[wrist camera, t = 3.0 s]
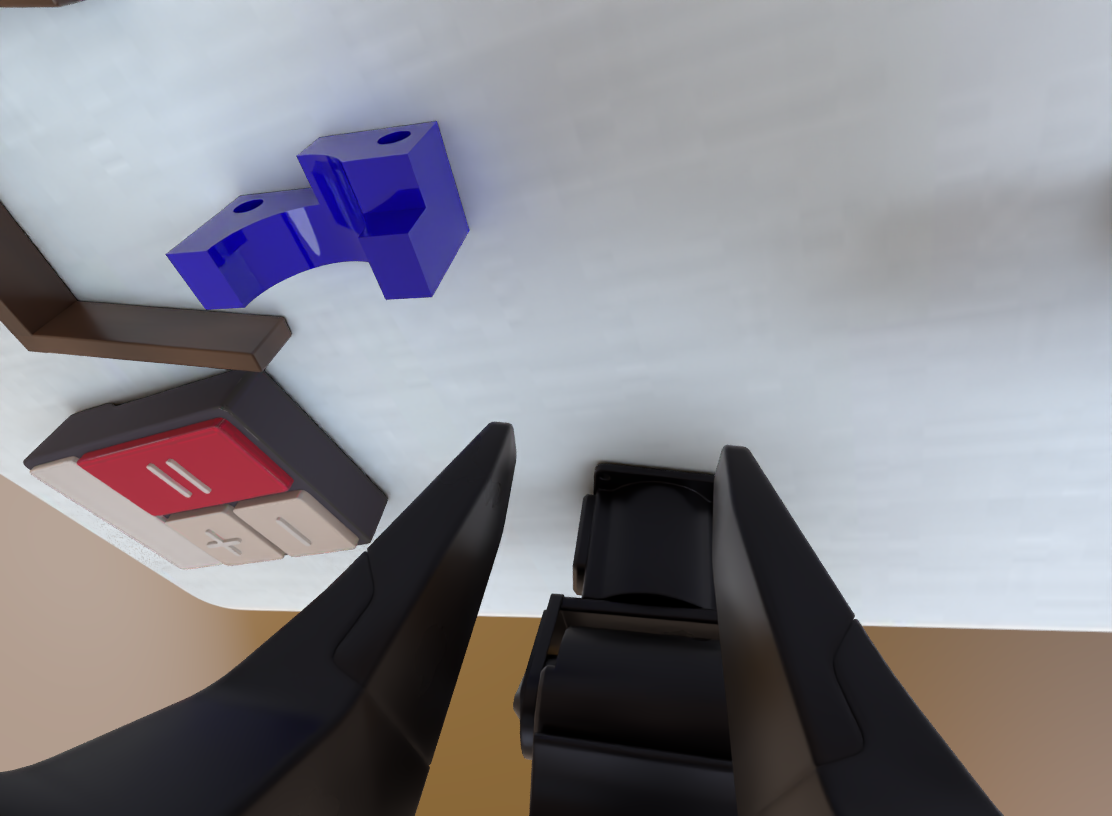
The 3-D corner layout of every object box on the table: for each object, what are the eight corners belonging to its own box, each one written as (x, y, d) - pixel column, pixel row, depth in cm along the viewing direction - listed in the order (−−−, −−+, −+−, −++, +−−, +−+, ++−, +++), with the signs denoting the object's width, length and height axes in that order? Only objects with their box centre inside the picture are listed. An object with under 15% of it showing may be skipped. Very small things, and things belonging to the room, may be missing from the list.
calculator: (369, 556, 29) (178, 581, 35) (395, 492, 32) (216, 523, 38) (212, 418, 23) (4, 474, 28) (263, 352, 26) (67, 414, 31)
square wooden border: (108, -58, 14) (30, -45, 13) (293, 335, 24) (262, 373, 22) (-223, -50, 16) (-334, -37, 14) (72, 316, 25) (28, 351, 23)
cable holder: (436, 121, 16) (386, 176, 14) (469, 230, 19) (432, 296, 16) (214, 151, 18) (130, 206, 15) (270, 247, 21) (206, 309, 18)
